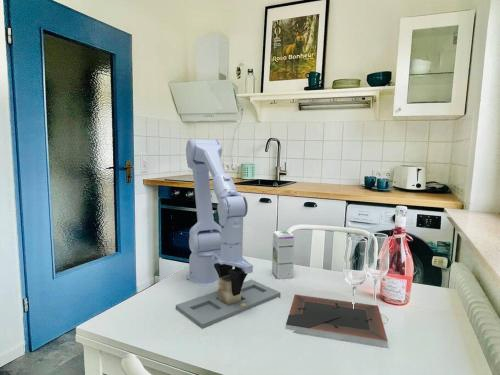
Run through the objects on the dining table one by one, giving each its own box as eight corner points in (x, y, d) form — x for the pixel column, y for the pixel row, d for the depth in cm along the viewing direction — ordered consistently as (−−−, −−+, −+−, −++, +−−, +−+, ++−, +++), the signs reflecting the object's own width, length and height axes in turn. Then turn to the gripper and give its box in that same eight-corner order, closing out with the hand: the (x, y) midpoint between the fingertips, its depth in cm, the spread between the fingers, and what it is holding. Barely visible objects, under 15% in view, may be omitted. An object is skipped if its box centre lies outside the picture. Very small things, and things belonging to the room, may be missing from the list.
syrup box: (293, 278, 105) (295, 234, 103) (276, 279, 104) (277, 235, 102) (287, 271, 111) (289, 230, 109) (271, 272, 109) (272, 230, 108)
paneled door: (175, 311, 82) (175, 303, 82) (251, 284, 99) (251, 278, 99) (202, 331, 73) (202, 323, 73) (280, 298, 90) (280, 291, 90)
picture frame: (285, 334, 74) (386, 351, 68) (285, 323, 74) (387, 340, 68) (294, 302, 90) (377, 313, 84) (294, 293, 89) (378, 304, 84)
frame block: (218, 300, 86) (218, 277, 85) (231, 295, 89) (231, 273, 88) (227, 305, 83) (227, 282, 82) (241, 300, 86) (241, 278, 85)
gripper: (203, 238, 87) (202, 286, 88) (238, 251, 76) (236, 306, 78) (223, 234, 92) (223, 280, 93) (259, 245, 81) (258, 297, 82)
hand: (230, 291), depth 86 cm, fingers closed on frame block, 4 cm apart
